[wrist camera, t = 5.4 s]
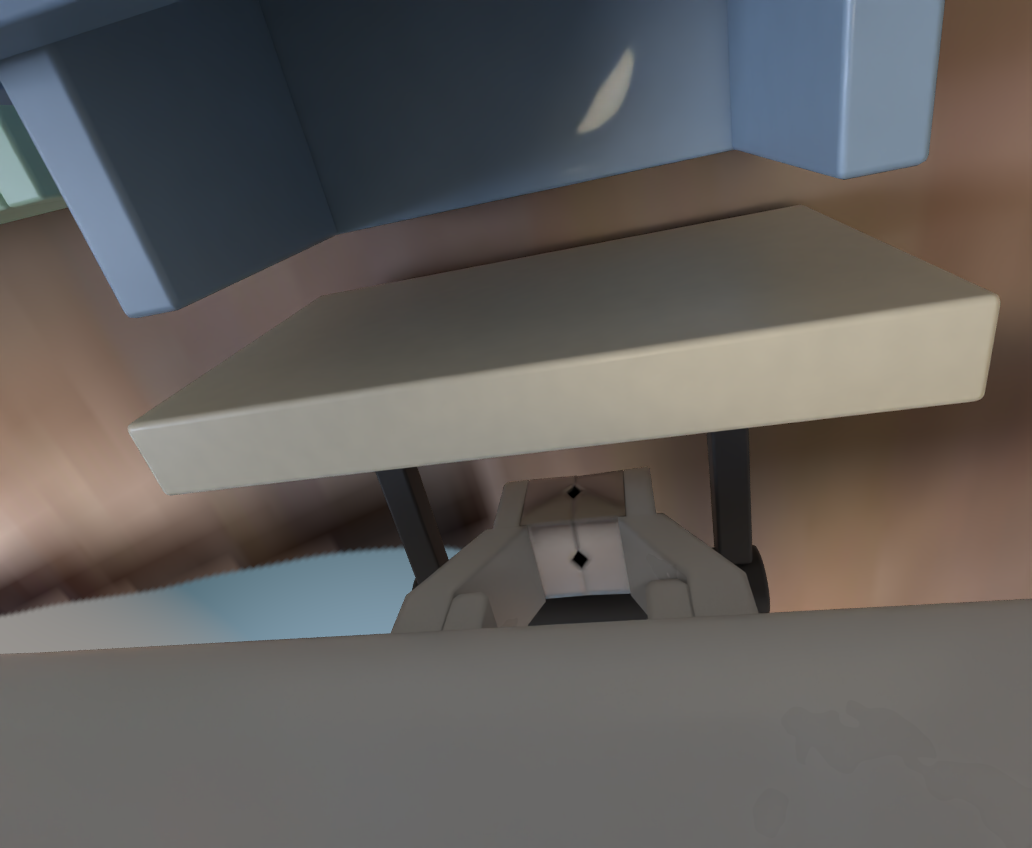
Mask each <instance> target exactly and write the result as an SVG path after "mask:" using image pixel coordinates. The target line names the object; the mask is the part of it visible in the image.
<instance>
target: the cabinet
mask: <svg viewBox="0 0 1032 848" xmlns="http://www.w3.org/2000/svg"><path fill="white" fill-rule="evenodd" d="M178 1H181V0H0V60H2V59H5V58H8V57H11V56H14V55H17V54H20V53H23V52H26V51H29V50H32V49H35V48H38V47H41V46H44V45H47V44H50V43H53V42H56V41H59V40H62V39H66V38H69V37H72V36H75V35H78V34H81V33H84V32H87V31H90V30H93V29H96V28H99V27H102V26H105V25H108V24H111V23H114V22H117V21H120V20H123V19H126V18H130V17H133V16H136V15H139V14H142V13H145V12H148V11H151V10H154V9H157V8H160V7H163V6H166V5H169V4H172V3H175V2H178ZM0 105H13V104H12V102H11V100H10V98H9V96H8V94H7V92H6V90H5V89H4V87H3V85H2V83H1V81H0Z"/></svg>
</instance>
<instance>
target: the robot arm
mask: <svg viewBox="0 0 1032 848" xmlns="http://www.w3.org/2000/svg"><path fill="white" fill-rule="evenodd" d="M605 594H631V596H632V597H633V599H634V600H635V601H636V602H637V603H638V604H639V606H640V607H641V608H642V609H643V610H644V612H645V613H646V614H647V615H648V619H647V620H629V621H611V622H592V623H574V624H556V625H537V626H528V624H529V623H530V622H531V620H532V619H533V618H534V616H535V615H536V614H537V612H538V611H539V610H540V608H541V607H542V606H543V604H544V603H545V602H546V600H545V599H551V598H562V597H573V596H583V595H605ZM0 848H1032V599H1016V600H997V601H979V602H960V603H941V604H923V605H904V606H885V607H867V608H848V609H830V610H812V611H793V612H775V613H758V610H757V607H756V604H755V600H754V597H753V594H752V591H751V588H750V585H749V581H748V578H747V575H746V573H745V572H744V571H743V570H741V569H740V568H739V567H737V566H736V565H734V564H733V563H732V562H730V561H729V560H727V559H726V558H725V557H723V556H722V555H721V554H719V553H718V552H716V551H715V550H714V549H712V548H711V547H709V546H708V545H707V544H705V543H704V542H702V541H701V540H700V539H698V538H697V537H696V536H694V535H693V534H691V533H690V532H689V531H687V530H686V529H684V528H683V527H682V526H680V525H679V524H678V523H676V522H675V521H673V520H672V519H671V518H669V517H668V516H666V515H665V514H664V513H658V514H656V510H655V503H654V496H653V489H652V481H651V474H650V468H649V467H648V466H646V467H640V468H633V469H626V470H624V471H623V470H620V471H613V472H605V473H598V474H590V475H583V476H567V477H556V478H545V479H533V480H530V481H529V480H522V481H514V482H507V483H506V484H505V485H504V487H503V491H502V495H501V499H500V503H499V506H498V510H497V514H496V518H495V522H494V525H493V529H486V530H485V531H484V532H483V533H481V534H480V535H479V536H478V537H476V538H475V539H474V540H473V541H472V542H470V543H469V544H468V545H467V546H466V547H464V548H463V549H462V550H461V551H459V552H458V553H457V554H456V555H455V556H454V557H452V558H451V559H450V560H449V561H447V562H446V563H445V564H444V565H442V566H441V567H440V568H439V569H438V570H436V571H435V572H434V573H433V574H432V575H430V576H429V577H428V578H427V579H425V580H424V581H423V582H422V583H421V584H419V585H418V586H417V587H416V588H415V589H413V590H412V591H411V592H410V593H409V594H407V595H406V597H405V600H404V602H403V604H402V607H401V609H400V612H399V614H398V617H397V619H396V621H395V624H394V626H393V629H392V631H391V633H390V634H372V635H354V636H336V637H317V638H298V639H280V640H262V641H244V642H225V643H209V644H207V643H206V644H188V645H172V646H171V645H170V646H151V647H134V648H115V649H98V650H78V651H61V652H43V653H17V654H0Z"/></svg>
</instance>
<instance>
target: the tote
mask: <svg viewBox="0 0 1032 848" xmlns="http://www.w3.org/2000/svg"><path fill="white" fill-rule="evenodd" d="M64 208H68V206H67V204H66V202H65V201H64V199H63V197H62V195H61V193H60V191H59V189H58V188H57V186H56V184H55V182H54V180H53V178H52V176H51V174H50V173H49V171H48V169H47V167H46V165H45V163H44V161H43V160H42V158H41V156H40V154H39V152H38V150H37V148H36V146H35V145H34V143H33V141H32V139H31V137H30V135H29V133H28V132H27V130H26V128H25V126H24V124H23V122H22V120H21V118H20V117H19V115H18V113H17V111H16V109H15V107H14V105H0V224H4V223H8V222H12V221H16V220H20V219H24V218H28V217H32V216H36V215H40V214H44V213H48V212H52V211H56V210H60V209H64Z"/></svg>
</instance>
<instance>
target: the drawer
mask: <svg viewBox="0 0 1032 848" xmlns="http://www.w3.org/2000/svg"><path fill="white" fill-rule="evenodd" d="M944 4H945V0H181V1H178V2H175V3H172V4H169V5H166V6H163V7H160V8H157V9H154V10H151V11H148V12H145V13H142V14H139V15H136V16H133V17H130V18H126V19H123V20H120V21H117V22H114V23H111V24H108V25H105V26H102V27H99V28H96V29H93V30H90V31H87V32H84V33H81V34H78V35H75V36H72V37H69V38H66V39H62V40H59V41H56V42H53V43H50V44H47V45H44V46H41V47H38V48H35V49H32V50H29V51H26V52H23V53H20V54H17V55H14V56H11V57H8V58H5V59H2V60H0V81H1V83H2V85H3V87H4V89H5V90H6V92H7V94H8V96H9V98H10V100H11V102H12V104H13V105H14V107H15V109H16V111H17V113H18V115H19V117H20V118H21V120H22V122H23V124H24V126H25V128H26V130H27V132H28V133H29V135H30V137H31V139H32V141H33V143H34V145H35V146H36V148H37V150H38V152H39V154H40V156H41V158H42V160H43V161H44V163H45V165H46V167H47V169H48V171H49V173H50V174H51V176H52V178H53V180H54V182H55V184H56V186H57V188H58V189H59V191H60V193H61V195H62V197H63V199H64V201H65V202H66V204H67V206H68V208H69V210H70V212H71V214H72V215H73V217H74V219H75V221H76V223H77V225H78V227H79V229H80V230H81V232H82V234H83V236H84V238H85V240H86V242H87V243H88V245H89V247H90V249H91V251H92V253H93V255H94V257H95V258H96V260H97V262H98V264H99V266H100V268H101V270H102V271H103V273H104V275H105V277H106V279H107V281H108V283H109V285H110V286H111V288H112V290H113V292H114V294H115V296H116V298H117V299H118V301H119V303H120V305H121V307H122V309H123V311H124V312H125V314H126V315H127V316H128V317H131V318H140V317H145V316H151V315H156V314H161V313H166V312H171V311H176V310H179V309H181V308H184V307H186V306H188V305H190V304H192V303H194V302H196V301H198V300H200V299H202V298H205V297H207V296H209V295H211V294H213V293H215V292H217V291H219V290H221V289H224V288H226V287H228V286H230V285H232V284H234V283H236V282H238V281H240V280H243V279H245V278H247V277H249V276H251V275H253V274H255V273H257V272H259V271H262V270H264V269H266V268H268V267H270V266H272V265H274V264H276V263H278V262H281V261H283V260H285V259H287V258H289V257H291V256H293V255H295V254H297V253H300V252H302V251H304V250H306V249H308V248H310V247H312V246H314V245H316V244H319V243H321V242H323V241H325V240H327V239H329V238H331V237H333V236H335V235H338V234H343V233H347V232H352V231H357V230H361V229H366V228H371V227H375V226H380V225H385V224H389V223H394V222H399V221H403V220H408V219H413V218H418V217H422V216H427V215H432V214H436V213H441V212H446V211H450V210H455V209H460V208H464V207H469V206H474V205H478V204H483V203H488V202H492V201H497V200H502V199H506V198H511V197H516V196H520V195H525V194H530V193H534V192H539V191H544V190H548V189H553V188H558V187H563V186H567V185H572V184H577V183H581V182H586V181H591V180H595V179H600V178H605V177H609V176H614V175H619V174H623V173H628V172H633V171H637V170H642V169H647V168H651V167H656V166H661V165H665V164H670V163H675V162H679V161H684V160H689V159H694V158H698V157H703V156H708V155H712V154H717V153H722V152H726V151H731V150H739V151H742V152H746V153H750V154H753V155H757V156H760V157H764V158H767V159H771V160H774V161H778V162H782V163H785V164H789V165H792V166H796V167H799V168H803V169H806V170H810V171H814V172H817V173H821V174H824V175H828V176H831V177H835V178H839V179H843V180H845V179H850V178H856V177H861V176H866V175H871V174H876V173H881V172H886V171H891V170H896V169H902V168H907V167H912V166H917V165H919V164H921V163H922V162H924V161H926V159H927V157H928V155H929V146H930V136H931V127H932V118H933V108H934V99H935V89H936V80H937V70H938V61H939V52H940V42H941V33H942V23H943V14H944ZM1000 304H1001V303H1000V298H999V296H998V295H997V294H995V293H993V292H991V291H989V290H987V289H984V288H982V287H980V286H978V285H976V284H974V283H971V282H969V281H967V280H965V279H963V278H961V277H958V276H956V275H954V274H952V273H950V272H948V271H945V270H943V269H941V268H939V267H937V266H934V265H932V264H930V263H928V262H926V261H924V260H921V259H919V258H917V257H915V256H913V255H911V254H908V253H906V252H904V251H902V250H900V249H897V248H895V247H893V246H891V245H889V244H887V243H884V242H882V241H880V240H878V239H876V238H874V237H871V236H869V235H867V234H865V233H863V232H860V231H858V230H856V229H854V228H852V227H850V226H847V225H845V224H843V223H841V222H839V221H837V220H834V219H832V218H830V217H828V216H826V215H824V214H821V213H819V212H817V211H815V210H813V209H810V208H808V207H806V206H804V205H796V206H791V207H786V208H780V209H775V210H770V211H765V212H759V213H754V214H749V215H744V216H738V217H733V218H728V219H723V220H717V221H712V222H707V223H702V224H696V225H691V226H686V227H681V228H675V229H670V230H665V231H660V232H654V233H649V234H644V235H639V236H633V237H628V238H623V239H618V240H612V241H607V242H602V243H597V244H591V245H586V246H581V247H576V248H570V249H565V250H560V251H555V252H549V253H544V254H539V255H534V256H528V257H523V258H518V259H513V260H507V261H502V262H497V263H492V264H486V265H481V266H476V267H471V268H465V269H460V270H455V271H450V272H444V273H439V274H434V275H429V276H423V277H418V278H413V279H408V280H402V281H397V282H392V283H387V284H381V285H376V286H371V287H366V288H360V289H355V290H350V291H345V292H339V293H334V294H329V295H323V296H321V297H319V298H318V299H316V300H315V301H313V302H312V303H310V304H309V305H307V306H306V307H304V308H303V309H301V310H300V311H298V312H297V313H295V314H294V315H292V316H291V317H289V318H288V319H286V320H285V321H283V322H282V323H280V324H279V325H277V326H276V327H274V328H273V329H271V330H270V331H268V332H267V333H265V334H264V335H262V336H261V337H259V338H258V339H256V340H255V341H253V342H252V343H250V344H249V345H247V346H246V347H244V348H243V349H241V350H240V351H238V352H237V353H235V354H234V355H232V356H231V357H229V358H228V359H226V360H225V361H223V362H222V363H220V364H219V365H217V366H216V367H214V368H213V369H211V370H210V371H208V372H207V373H205V374H204V375H202V376H201V377H199V378H198V379H196V380H195V381H193V382H192V383H190V384H189V385H187V386H186V387H184V388H183V389H181V390H180V391H178V392H177V393H175V394H174V395H172V396H171V397H169V398H168V399H166V400H165V401H163V402H162V403H161V404H159V405H158V406H156V407H155V408H153V409H152V410H150V411H149V412H147V413H146V414H144V415H143V416H141V417H140V418H138V419H137V420H135V421H134V422H132V423H131V424H130V425H129V426H128V432H129V434H130V436H131V437H132V439H133V441H134V442H135V444H136V446H137V447H138V449H139V451H140V452H141V454H142V456H143V458H144V459H145V461H146V463H147V464H148V466H149V468H150V469H151V471H152V473H153V475H154V476H155V478H156V480H157V481H158V483H159V485H160V486H161V488H162V490H163V491H164V493H166V494H167V495H178V494H187V493H195V492H204V491H212V490H221V489H229V488H238V487H247V486H255V485H264V484H272V483H281V482H289V481H298V480H306V479H315V478H323V477H332V476H341V475H349V474H358V473H366V472H376V475H377V478H378V480H379V483H380V485H381V488H382V491H383V493H384V496H385V499H386V501H387V504H388V506H389V509H390V512H391V514H392V517H393V520H394V522H395V525H396V527H397V530H398V533H399V535H400V538H401V541H402V543H403V546H404V548H405V551H406V553H407V556H408V559H409V562H410V564H411V567H412V569H413V572H414V575H415V577H416V578H415V581H414V584H413V588H412V590H413V589H415V588H416V587H417V586H418V585H419V584H421V583H422V582H423V581H424V580H425V579H427V578H428V577H429V576H430V575H432V574H433V573H434V572H435V571H436V570H438V569H439V568H440V567H441V566H442V565H444V564H445V563H446V562H447V561H449V560H448V557H447V554H446V551H445V548H444V545H443V542H442V539H441V536H440V533H439V530H438V527H437V524H436V521H435V518H434V515H433V513H432V510H431V507H430V504H429V501H428V498H427V495H426V492H425V489H424V486H423V483H422V480H421V477H420V474H419V471H418V468H417V466H426V465H435V464H443V463H452V462H460V461H469V460H477V459H486V458H494V457H503V456H511V455H520V454H529V453H537V452H546V451H554V450H563V449H571V448H580V447H588V446H597V445H605V444H614V443H623V442H631V441H640V440H648V439H657V438H665V437H674V436H682V435H691V434H699V433H707V445H708V460H709V474H710V489H711V504H712V519H713V533H714V546H715V547H714V548H712V549H714V550H715V551H716V552H718V553H719V554H721V555H722V556H723V557H725V558H726V559H727V560H729V561H730V562H732V563H733V564H734V565H736V566H737V567H739V568H740V569H741V570H743V571H744V572H745V573H746V575H747V578H748V581H749V585H750V588H751V591H752V594H753V597H754V600H755V604H756V607H757V610H758V613H769V612H770V597H769V589H768V582H767V577H766V572H765V568H764V564H763V561H762V558H761V555H760V553H759V551H758V549H757V548H756V546H754V545H752V525H751V491H750V458H749V428H751V427H759V426H768V425H776V424H785V423H793V422H802V421H811V420H819V419H828V418H836V417H845V416H853V415H862V414H870V413H879V412H887V411H896V410H905V409H913V408H922V407H930V406H939V405H947V404H956V403H964V402H973V401H978V400H980V399H982V397H983V396H984V394H985V389H986V383H987V377H988V372H989V366H990V360H991V355H992V349H993V344H994V338H995V332H996V327H997V321H998V315H999V310H1000ZM545 600H546V602H545V603H544V604H543V606H542V607H541V608H540V610H539V611H538V612H537V614H536V615H535V616H534V618H533V619H532V620H531V622H530V623H529V624H528V626H537V625H556V624H574V623H592V622H611V621H629V620H647V619H648V615H647V614H646V613H645V612H644V610H643V609H642V608H641V607H640V606H639V604H638V603H637V602H636V601H635V600H634V599H633V597H632V596H631V594H605V595H583V596H573V597H562V598H551V599H545Z"/></svg>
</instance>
